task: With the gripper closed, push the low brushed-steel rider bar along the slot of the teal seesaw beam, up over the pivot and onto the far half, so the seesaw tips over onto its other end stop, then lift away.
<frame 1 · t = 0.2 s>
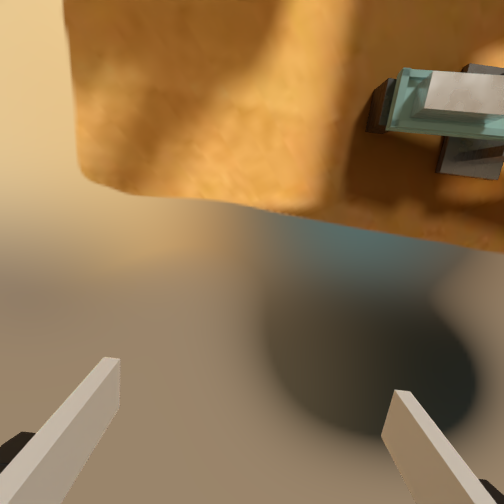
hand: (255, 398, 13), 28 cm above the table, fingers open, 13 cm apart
stand: (478, 126, 36), on the table
rider: (451, 104, 30), point 6 cm above the table, tilted 9°, touching beam
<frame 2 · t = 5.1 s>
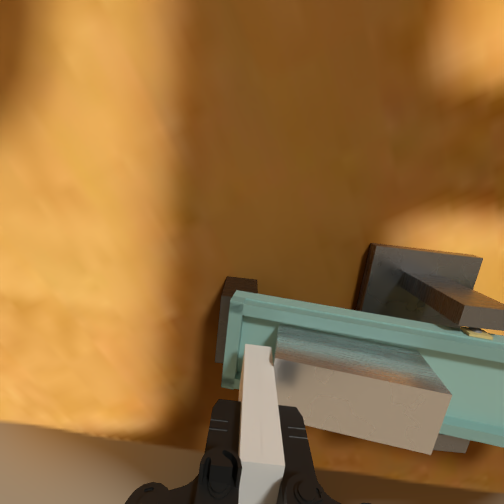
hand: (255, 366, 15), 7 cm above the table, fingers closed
beam: (463, 384, 15), point 7 cm above the table, hinge at 8.7°, touching rider, stand
stand: (401, 325, 22), on the table
rider: (340, 361, 16), point 6 cm above the table, tilted 9°, touching beam, gripper
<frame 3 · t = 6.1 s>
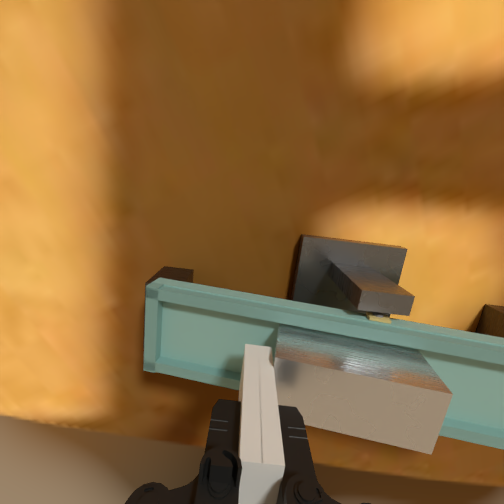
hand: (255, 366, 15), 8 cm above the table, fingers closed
beam: (368, 366, 16), point 7 cm above the table, hinge at 8.7°, touching rider, stand
stand: (335, 314, 23), on the table
rider: (340, 361, 16), point 7 cm above the table, tilted 9°, touching beam
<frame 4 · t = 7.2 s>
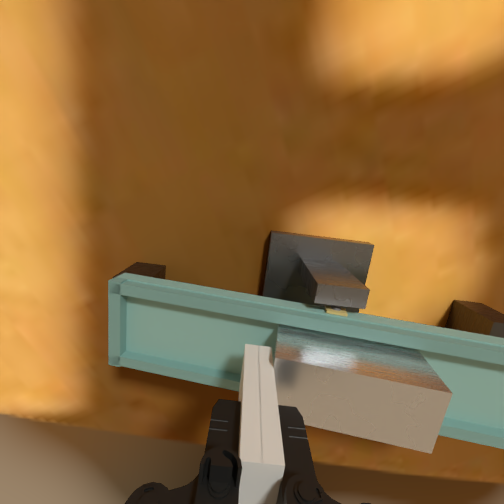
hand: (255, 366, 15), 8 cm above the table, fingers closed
beam: (327, 359, 16), point 7 cm above the table, hinge at 8.1°, touching rider
stand: (306, 310, 23), on the table
rider: (340, 361, 16), point 7 cm above the table, tilted 8°, touching beam, gripper
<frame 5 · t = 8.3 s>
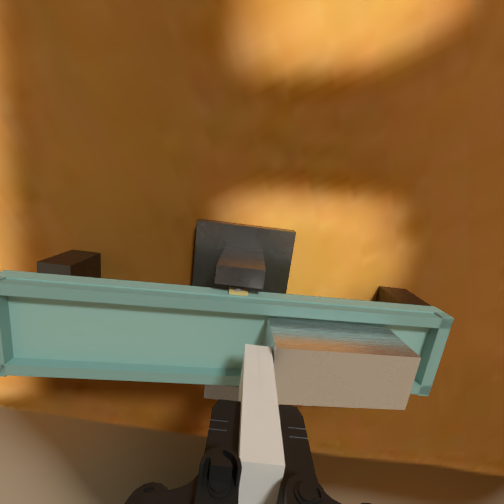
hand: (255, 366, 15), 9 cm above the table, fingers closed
beam: (233, 337, 17), point 7 cm above the table, hinge at -4.9°, touching rider
stand: (238, 296, 24), on the table
rider: (322, 343, 18), point 6 cm above the table, touching beam, gripper
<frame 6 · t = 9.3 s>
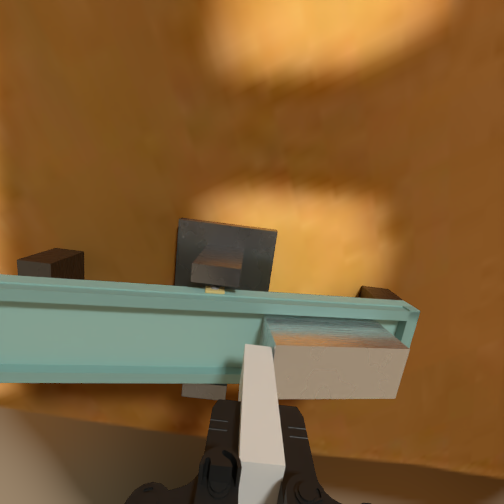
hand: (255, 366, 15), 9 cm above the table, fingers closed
beam: (210, 336, 17), point 7 cm above the table, hinge at -8.7°, touching rider, stand
stand: (221, 295, 24), on the table
rider: (316, 339, 19), point 6 cm above the table, tilted 9°, touching beam
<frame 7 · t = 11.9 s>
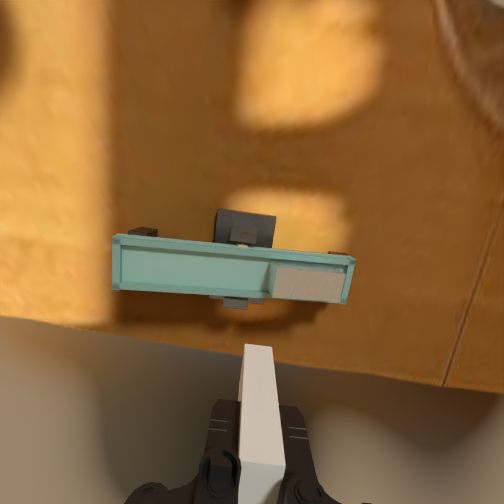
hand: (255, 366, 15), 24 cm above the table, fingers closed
beam: (239, 271, 32), point 7 cm above the table, hinge at -8.7°, touching rider, stand
stand: (241, 257, 39), on the table
rider: (299, 275, 33), point 6 cm above the table, tilted 9°, touching beam
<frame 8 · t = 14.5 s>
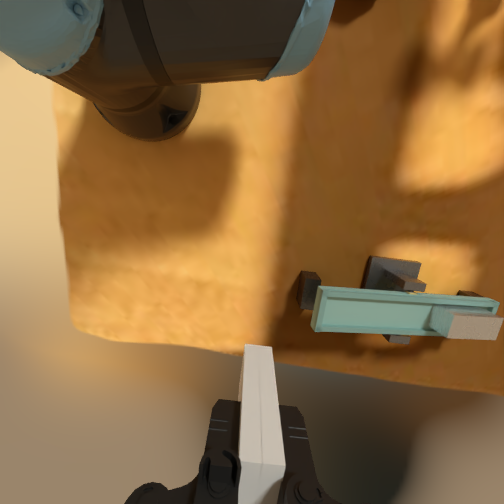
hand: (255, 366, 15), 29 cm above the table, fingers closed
beam: (407, 313, 39), point 7 cm above the table, hinge at -8.7°, touching rider, stand
stand: (384, 295, 45), on the table
rider: (453, 315, 40), point 6 cm above the table, tilted 9°, touching beam
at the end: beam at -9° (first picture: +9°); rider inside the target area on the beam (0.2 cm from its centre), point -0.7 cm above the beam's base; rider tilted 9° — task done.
